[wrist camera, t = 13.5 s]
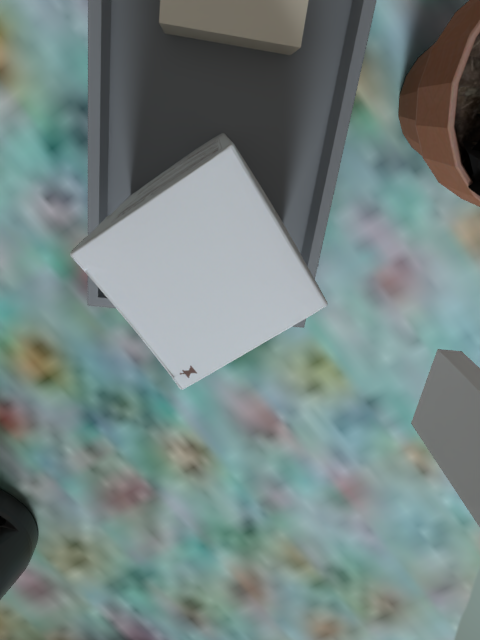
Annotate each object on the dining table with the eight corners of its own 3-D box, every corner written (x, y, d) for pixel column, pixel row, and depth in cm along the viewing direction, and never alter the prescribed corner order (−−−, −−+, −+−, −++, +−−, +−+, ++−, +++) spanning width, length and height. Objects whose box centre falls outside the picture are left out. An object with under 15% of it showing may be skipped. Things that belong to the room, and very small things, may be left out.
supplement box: (284, 231, 38) (336, 311, 22) (194, 288, 39) (184, 399, 24) (222, 127, 34) (233, 136, 19) (125, 194, 36) (62, 254, 20)
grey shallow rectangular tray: (98, 287, 40) (87, 305, 36) (103, -123, 28) (88, -158, 25) (295, 309, 42) (304, 327, 38) (374, -66, 30) (396, -91, 27)
